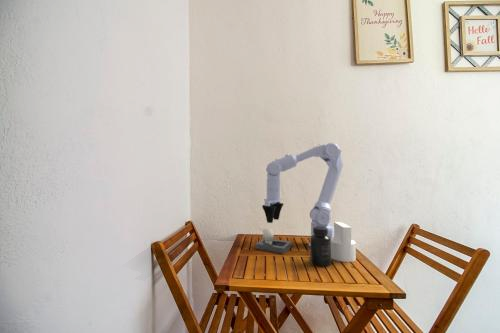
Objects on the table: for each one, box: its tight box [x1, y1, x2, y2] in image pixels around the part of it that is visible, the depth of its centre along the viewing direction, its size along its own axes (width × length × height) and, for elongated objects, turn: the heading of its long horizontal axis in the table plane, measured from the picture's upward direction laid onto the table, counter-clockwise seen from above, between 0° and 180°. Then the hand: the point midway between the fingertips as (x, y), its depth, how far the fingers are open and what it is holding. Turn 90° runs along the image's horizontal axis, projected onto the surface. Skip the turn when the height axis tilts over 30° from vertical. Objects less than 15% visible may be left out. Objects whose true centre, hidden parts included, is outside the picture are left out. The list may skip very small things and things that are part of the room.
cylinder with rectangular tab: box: [331, 221, 357, 263], centre depth 83 cm, size 9×9×12 cm
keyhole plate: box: [254, 238, 292, 255], centre depth 92 cm, size 12×10×2 cm
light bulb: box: [262, 228, 275, 245], centre depth 94 cm, size 4×4×7 cm
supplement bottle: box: [309, 227, 332, 268], centre depth 77 cm, size 7×7×12 cm
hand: (273, 220), depth 97 cm, fingers open, 7 cm apart
